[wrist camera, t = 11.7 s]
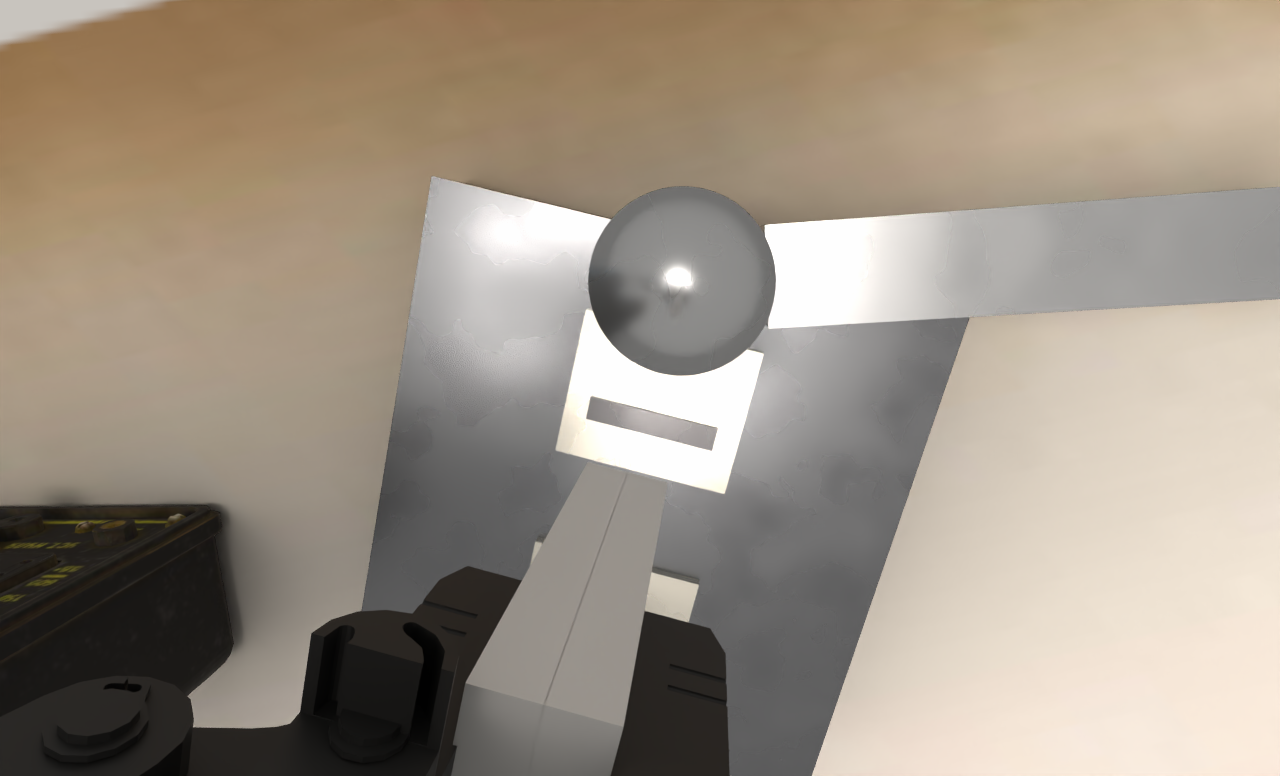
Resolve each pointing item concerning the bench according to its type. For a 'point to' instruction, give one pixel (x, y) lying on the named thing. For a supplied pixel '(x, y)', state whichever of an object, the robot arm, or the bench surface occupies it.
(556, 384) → the grey slotted box
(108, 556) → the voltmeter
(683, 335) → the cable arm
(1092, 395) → the bench surface
